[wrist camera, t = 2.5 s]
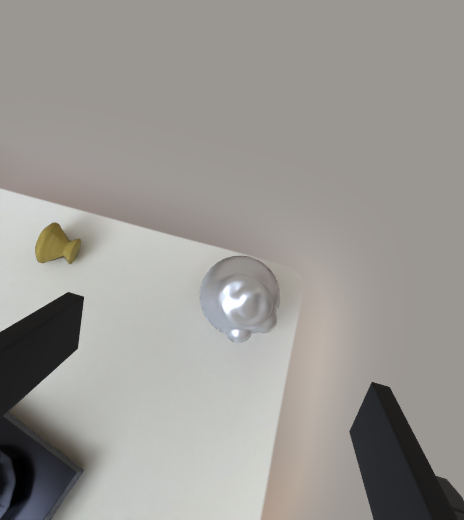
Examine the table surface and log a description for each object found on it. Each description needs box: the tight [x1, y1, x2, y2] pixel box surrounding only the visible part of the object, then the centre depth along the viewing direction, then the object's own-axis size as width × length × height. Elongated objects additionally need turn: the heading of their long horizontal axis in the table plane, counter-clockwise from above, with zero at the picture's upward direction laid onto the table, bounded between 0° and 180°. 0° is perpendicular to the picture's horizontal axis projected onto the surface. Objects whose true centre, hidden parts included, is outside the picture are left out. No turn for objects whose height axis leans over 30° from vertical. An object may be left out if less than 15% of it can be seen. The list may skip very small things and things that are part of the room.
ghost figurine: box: [200, 256, 280, 343], centre depth 35 cm, size 9×10×10 cm
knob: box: [35, 223, 81, 264], centre depth 39 cm, size 5×5×5 cm
